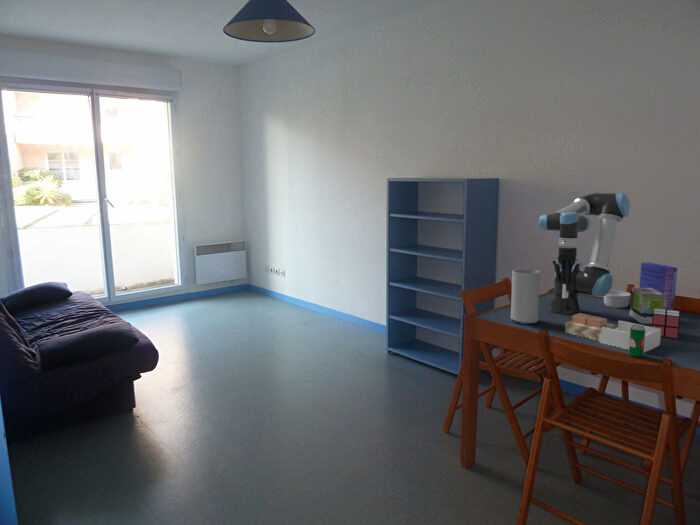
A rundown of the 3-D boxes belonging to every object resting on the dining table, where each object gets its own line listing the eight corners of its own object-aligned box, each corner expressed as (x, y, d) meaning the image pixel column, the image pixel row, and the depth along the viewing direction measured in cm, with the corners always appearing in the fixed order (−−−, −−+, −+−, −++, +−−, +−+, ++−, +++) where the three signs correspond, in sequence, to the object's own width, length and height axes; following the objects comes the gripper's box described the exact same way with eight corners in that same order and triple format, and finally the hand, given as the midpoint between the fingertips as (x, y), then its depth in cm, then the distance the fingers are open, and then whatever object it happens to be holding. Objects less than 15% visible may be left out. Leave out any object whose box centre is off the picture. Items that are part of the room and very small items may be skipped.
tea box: (663, 324, 236) (665, 294, 234) (639, 324, 238) (641, 293, 236) (650, 316, 251) (653, 287, 248) (628, 315, 253) (631, 286, 250)
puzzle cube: (678, 339, 216) (680, 316, 214) (650, 335, 221) (652, 313, 219) (677, 332, 224) (679, 311, 223) (651, 329, 229) (653, 308, 228)
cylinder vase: (509, 317, 254) (511, 268, 250) (535, 318, 252) (537, 269, 247) (512, 324, 242) (513, 273, 238) (539, 325, 240) (541, 273, 235)
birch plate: (564, 333, 227) (565, 322, 226) (578, 327, 234) (579, 317, 233) (600, 341, 214) (600, 330, 214) (613, 335, 222) (614, 325, 221)
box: (598, 342, 213) (599, 326, 212) (616, 335, 222) (617, 320, 221) (643, 353, 199) (644, 336, 198) (659, 345, 209) (661, 328, 207)
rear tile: (572, 321, 227) (572, 315, 226) (579, 319, 230) (579, 313, 230) (585, 324, 222) (585, 318, 222) (592, 322, 226) (592, 315, 225)
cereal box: (673, 314, 252) (677, 267, 248) (665, 315, 251) (669, 268, 247) (645, 306, 269) (648, 262, 265) (638, 307, 268) (641, 262, 264)
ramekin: (618, 309, 263) (618, 297, 262) (596, 304, 275) (597, 292, 274) (635, 306, 269) (636, 294, 267) (614, 301, 280) (614, 289, 279)
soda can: (626, 353, 200) (628, 324, 198) (639, 353, 200) (641, 324, 198) (632, 357, 195) (634, 327, 193) (645, 357, 195) (648, 328, 193)
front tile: (586, 325, 222) (586, 318, 221) (593, 322, 225) (593, 315, 225) (599, 328, 217) (600, 321, 216) (606, 325, 220) (607, 318, 220)
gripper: (549, 246, 230) (547, 296, 234) (577, 249, 220) (574, 301, 224) (558, 244, 235) (556, 294, 238) (586, 247, 224) (582, 299, 228)
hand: (565, 297), depth 231 cm, fingers closed
